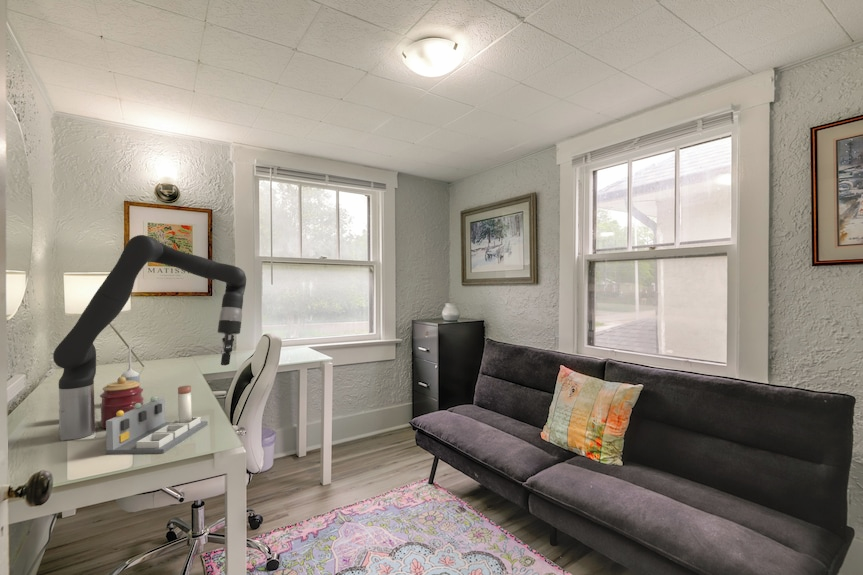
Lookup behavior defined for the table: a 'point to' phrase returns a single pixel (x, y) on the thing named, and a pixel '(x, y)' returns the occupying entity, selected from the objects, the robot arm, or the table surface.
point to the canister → (119, 398)
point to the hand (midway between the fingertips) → (224, 364)
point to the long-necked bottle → (131, 371)
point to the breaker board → (147, 430)
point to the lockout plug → (184, 404)
